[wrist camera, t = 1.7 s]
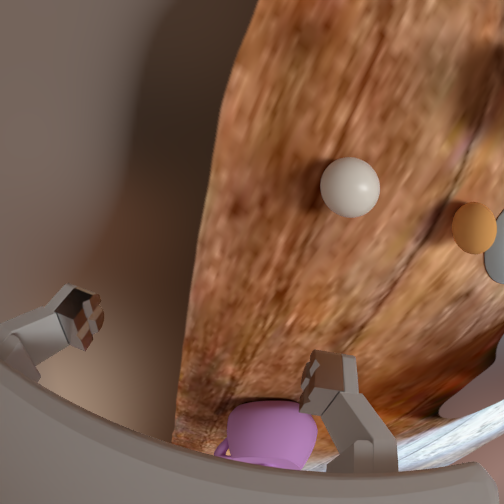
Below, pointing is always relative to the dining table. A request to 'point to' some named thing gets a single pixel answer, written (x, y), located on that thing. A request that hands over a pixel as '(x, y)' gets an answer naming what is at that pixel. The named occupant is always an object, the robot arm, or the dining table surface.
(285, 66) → the dining table surface
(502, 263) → the gray disc
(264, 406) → the teapot
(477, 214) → the object ball
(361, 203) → the cue ball
